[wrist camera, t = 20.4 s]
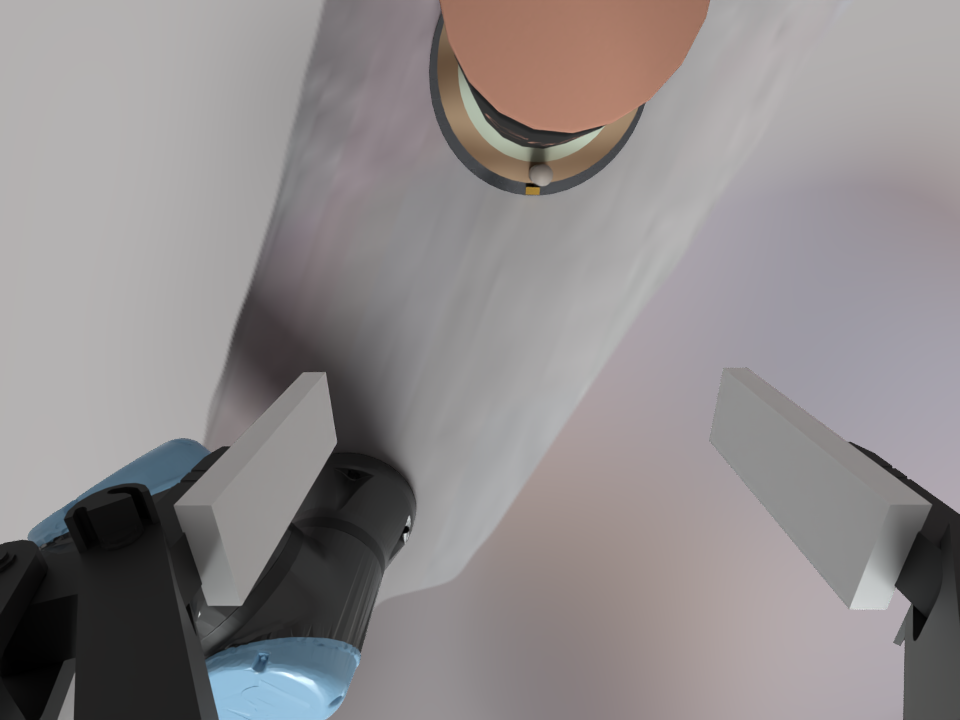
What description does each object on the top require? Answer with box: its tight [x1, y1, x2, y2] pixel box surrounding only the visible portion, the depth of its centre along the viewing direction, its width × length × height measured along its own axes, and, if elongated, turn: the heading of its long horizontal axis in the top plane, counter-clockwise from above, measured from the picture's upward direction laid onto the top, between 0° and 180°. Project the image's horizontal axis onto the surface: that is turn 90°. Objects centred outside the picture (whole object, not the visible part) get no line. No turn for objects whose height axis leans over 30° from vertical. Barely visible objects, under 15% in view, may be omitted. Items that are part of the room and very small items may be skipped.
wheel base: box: [429, 14, 646, 195], centre depth 37 cm, size 18×18×1 cm
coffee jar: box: [439, 0, 710, 149], centre depth 25 cm, size 11×11×18 cm
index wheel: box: [437, 24, 638, 186], centre depth 32 cm, size 16×16×9 cm
